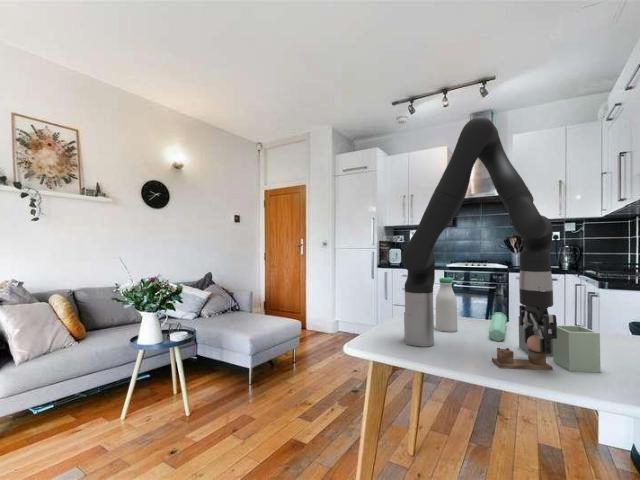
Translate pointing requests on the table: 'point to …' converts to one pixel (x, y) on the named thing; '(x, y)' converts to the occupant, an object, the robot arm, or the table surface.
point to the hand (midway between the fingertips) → (537, 348)
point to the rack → (521, 360)
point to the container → (497, 326)
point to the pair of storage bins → (571, 347)
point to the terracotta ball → (534, 343)
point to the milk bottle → (446, 307)
